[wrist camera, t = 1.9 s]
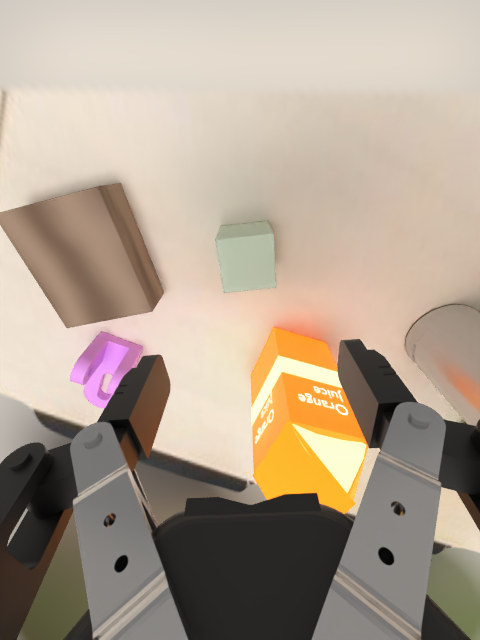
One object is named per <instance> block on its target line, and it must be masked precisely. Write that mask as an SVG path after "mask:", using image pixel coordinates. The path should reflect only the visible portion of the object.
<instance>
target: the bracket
mask: <svg viewBox="0 0 480 640" xmlns="http://www.w3.org/2000/svg"><path fill="white" fill-rule="evenodd" d="M142 348H143V346H140V345H137V344H134V343H132V342H129V341H126V340H123V339H121V338H118V337H115V336H113V335H110V334H107V333H104V332H102V331H101V333H100V334H99V335H98V336H97V337H96V338H95V340H94V341H93V342H92V343H91V344H90V345H89V347H88V348H87V349H86V350H85V351H84V352H83V354H82V355H81V356H80V357H79V359H78V360H77V362H76V364H75V366H74V368H73V370H72V372H71V375H70V381H72V382H75V383H78V384H81V385H85V388H84V395H85V397H86V399H87V400H88V401H89V402H90V403H92V404H93V405H95V406H97V407H100V408H104V409H105V407H106V406H107V404H108V402H109V400H110V399H111V397H112V395H114V392H115V390H116V388H117V387H118V385H119V383H120V381H121V379H122V378H123V376H124V375H125V374H126V373H127V372H128V371H129V370H131V369H132V368H136V365H137V362H138V359H139V357H140V354H141V351H142ZM105 374H111V375H113V377H112V379H111V381H110V384H109V386H108V389H107V393H110V394H106V393H104V392H103V391H102V390H101V386H102V383H103V379H104V376H105Z"/></svg>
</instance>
